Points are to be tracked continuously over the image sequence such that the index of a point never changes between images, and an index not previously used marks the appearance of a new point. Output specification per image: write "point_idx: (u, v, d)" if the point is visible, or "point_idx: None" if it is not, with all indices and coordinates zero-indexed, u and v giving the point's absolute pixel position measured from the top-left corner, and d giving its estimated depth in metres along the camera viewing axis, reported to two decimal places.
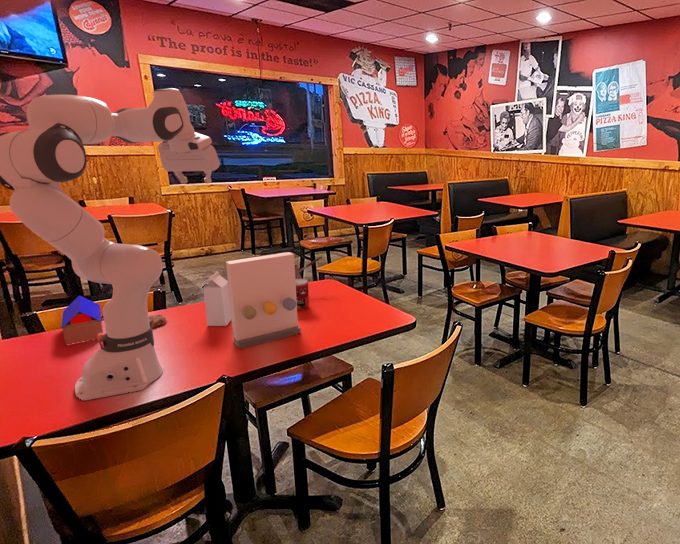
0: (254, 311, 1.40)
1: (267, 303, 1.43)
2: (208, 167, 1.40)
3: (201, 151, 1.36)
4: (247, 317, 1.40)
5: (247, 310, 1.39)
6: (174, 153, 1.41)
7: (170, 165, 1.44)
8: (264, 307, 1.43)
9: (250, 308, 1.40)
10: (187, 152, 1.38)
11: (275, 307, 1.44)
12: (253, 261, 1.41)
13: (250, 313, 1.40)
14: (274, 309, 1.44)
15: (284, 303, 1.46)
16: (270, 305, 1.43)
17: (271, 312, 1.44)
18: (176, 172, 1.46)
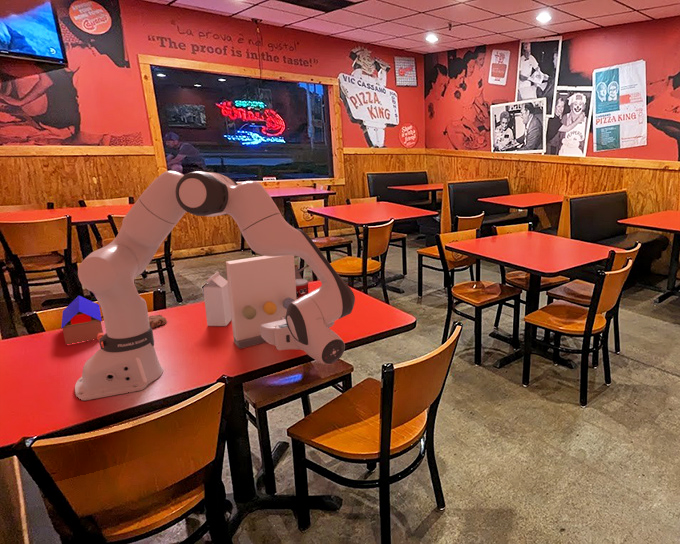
0: (254, 311, 1.40)
1: (267, 303, 1.43)
2: (267, 324, 1.25)
3: (275, 327, 1.20)
4: (247, 317, 1.40)
5: (247, 310, 1.39)
6: None
7: None
8: (264, 307, 1.43)
9: (250, 308, 1.40)
10: None
11: (275, 307, 1.44)
12: (253, 261, 1.41)
13: (250, 313, 1.40)
14: (274, 309, 1.44)
15: (284, 303, 1.46)
16: (270, 305, 1.43)
17: (271, 312, 1.44)
18: None
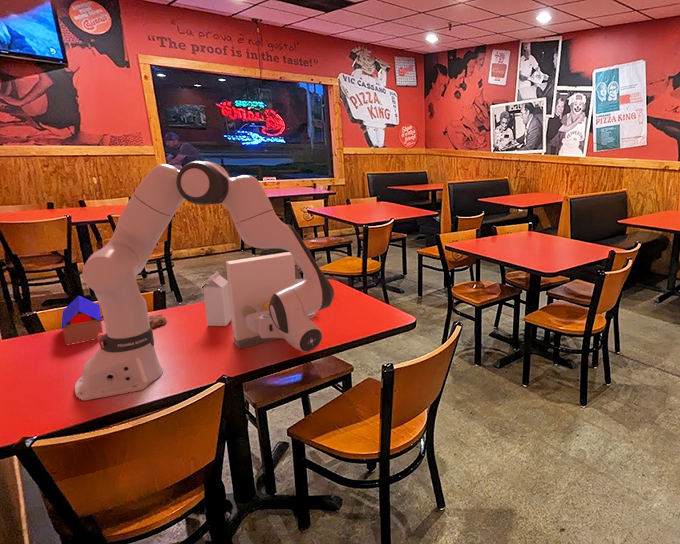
0: (254, 311, 1.40)
1: (267, 303, 1.43)
2: (253, 314, 1.34)
3: (259, 317, 1.30)
4: None
5: (247, 310, 1.39)
6: None
7: None
8: (264, 307, 1.43)
9: (250, 308, 1.40)
10: None
11: None
12: (253, 261, 1.41)
13: (250, 313, 1.40)
14: None
15: None
16: None
17: None
18: None
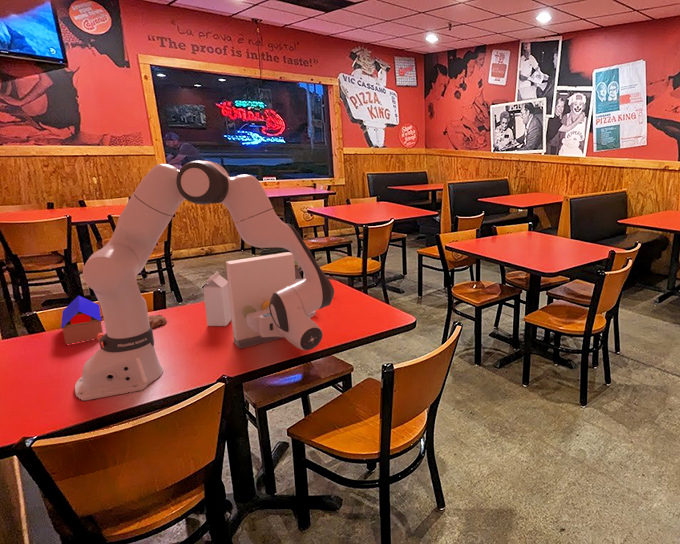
0: (254, 311, 1.40)
1: (266, 302, 1.44)
2: (253, 313, 1.35)
3: (260, 316, 1.30)
4: None
5: (247, 310, 1.39)
6: None
7: None
8: (263, 306, 1.44)
9: (250, 308, 1.40)
10: None
11: None
12: (253, 261, 1.41)
13: None
14: None
15: None
16: (268, 304, 1.44)
17: None
18: None
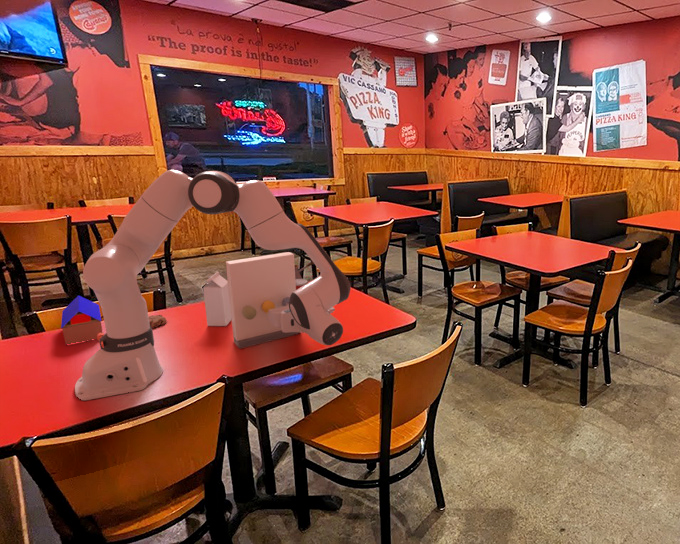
0: (254, 311, 1.40)
1: (266, 302, 1.44)
2: (274, 309, 1.38)
3: (281, 312, 1.33)
4: (247, 317, 1.40)
5: (247, 310, 1.39)
6: None
7: None
8: (263, 306, 1.44)
9: (250, 308, 1.40)
10: None
11: (273, 306, 1.45)
12: (253, 261, 1.41)
13: (250, 313, 1.40)
14: (272, 308, 1.45)
15: (283, 303, 1.47)
16: (268, 304, 1.44)
17: None
18: None
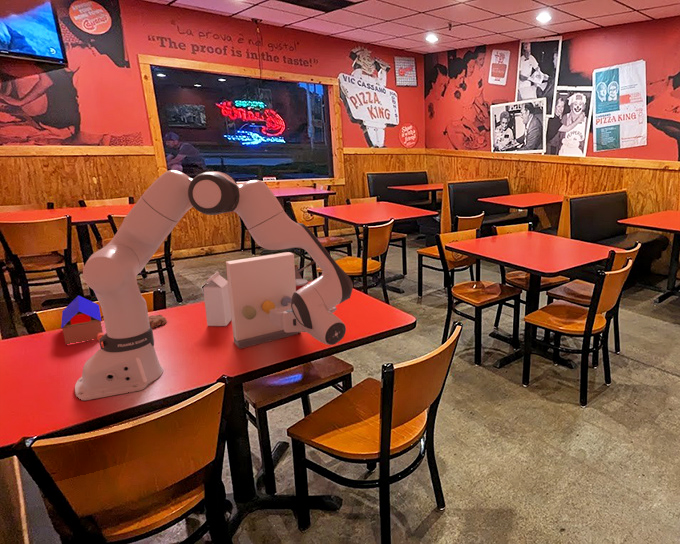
0: (254, 311, 1.40)
1: (266, 302, 1.44)
2: (276, 309, 1.37)
3: (283, 312, 1.32)
4: (247, 317, 1.40)
5: (247, 310, 1.39)
6: None
7: None
8: (263, 306, 1.44)
9: (250, 308, 1.40)
10: None
11: (273, 306, 1.45)
12: (253, 261, 1.41)
13: (250, 313, 1.40)
14: (272, 308, 1.45)
15: (282, 302, 1.47)
16: (268, 304, 1.44)
17: None
18: None
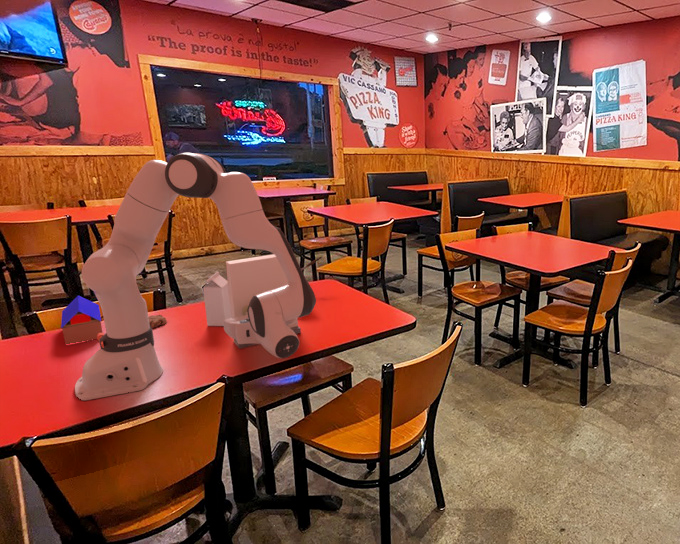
0: None
1: None
2: (231, 319, 1.31)
3: None
4: None
5: None
6: None
7: None
8: None
9: None
10: None
11: None
12: (253, 261, 1.41)
13: None
14: None
15: None
16: None
17: None
18: None
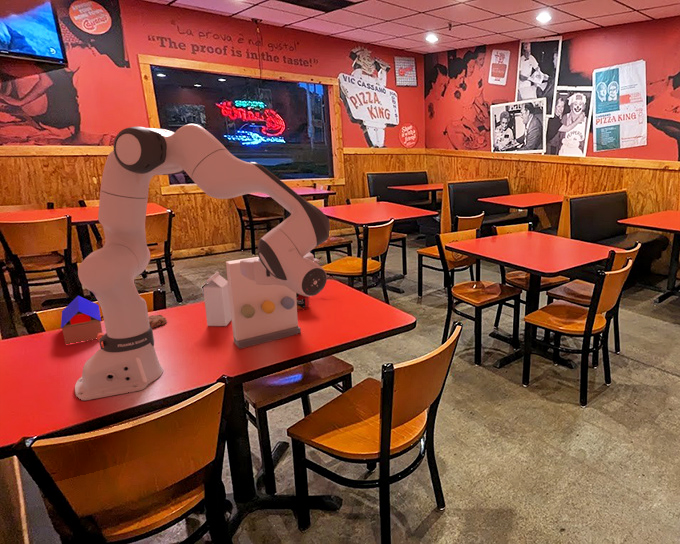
0: (253, 310, 1.42)
1: (266, 302, 1.44)
2: (248, 259, 1.17)
3: None
4: (246, 316, 1.41)
5: (246, 309, 1.40)
6: None
7: None
8: (263, 306, 1.44)
9: (249, 307, 1.41)
10: None
11: (273, 306, 1.45)
12: None
13: (249, 312, 1.41)
14: (272, 308, 1.45)
15: (282, 302, 1.47)
16: (268, 304, 1.44)
17: (269, 311, 1.45)
18: None
